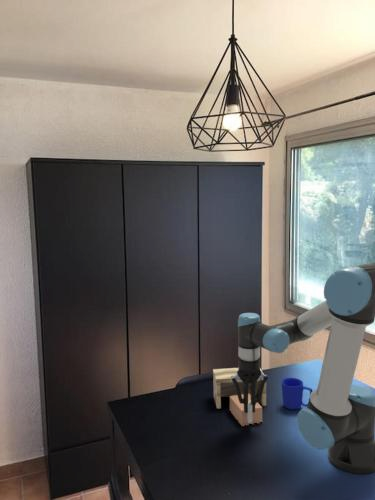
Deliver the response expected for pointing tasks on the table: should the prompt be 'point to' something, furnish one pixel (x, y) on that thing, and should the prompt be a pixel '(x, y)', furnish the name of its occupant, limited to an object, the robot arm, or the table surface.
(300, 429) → the robot arm
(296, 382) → the mug
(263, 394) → the shelf nook
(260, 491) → the table surface
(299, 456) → the table surface
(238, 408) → the tan brown block
